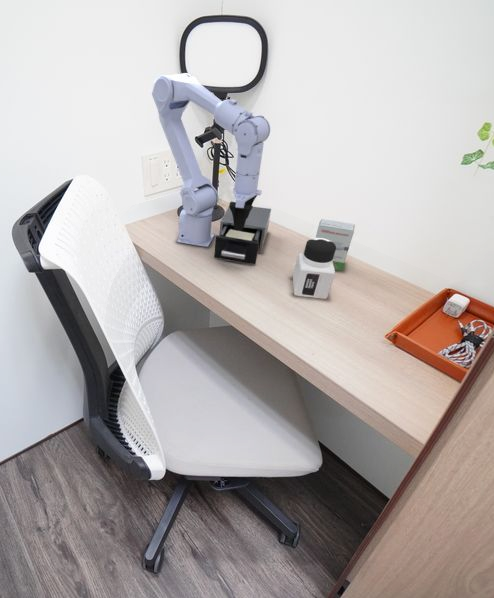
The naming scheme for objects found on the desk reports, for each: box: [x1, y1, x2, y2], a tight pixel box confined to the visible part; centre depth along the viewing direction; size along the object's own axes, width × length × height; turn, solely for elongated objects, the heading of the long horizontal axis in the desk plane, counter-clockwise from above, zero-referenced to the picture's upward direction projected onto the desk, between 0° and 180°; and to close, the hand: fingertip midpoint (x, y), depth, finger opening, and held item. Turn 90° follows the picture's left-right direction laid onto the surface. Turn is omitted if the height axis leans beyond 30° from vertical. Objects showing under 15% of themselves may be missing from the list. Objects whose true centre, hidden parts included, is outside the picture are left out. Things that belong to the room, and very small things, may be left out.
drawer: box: [213, 225, 261, 265], centre depth 99 cm, size 17×11×6 cm
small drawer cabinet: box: [218, 206, 272, 254], centre depth 108 cm, size 14×13×8 cm
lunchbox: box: [225, 229, 255, 241], centre depth 100 cm, size 7×4×4 cm, turn 67°
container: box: [292, 237, 336, 300], centre depth 86 cm, size 8×8×13 cm
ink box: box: [315, 218, 355, 272], centre depth 96 cm, size 9×5×12 cm, turn 66°
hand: (241, 223), depth 96 cm, fingers open, 7 cm apart
